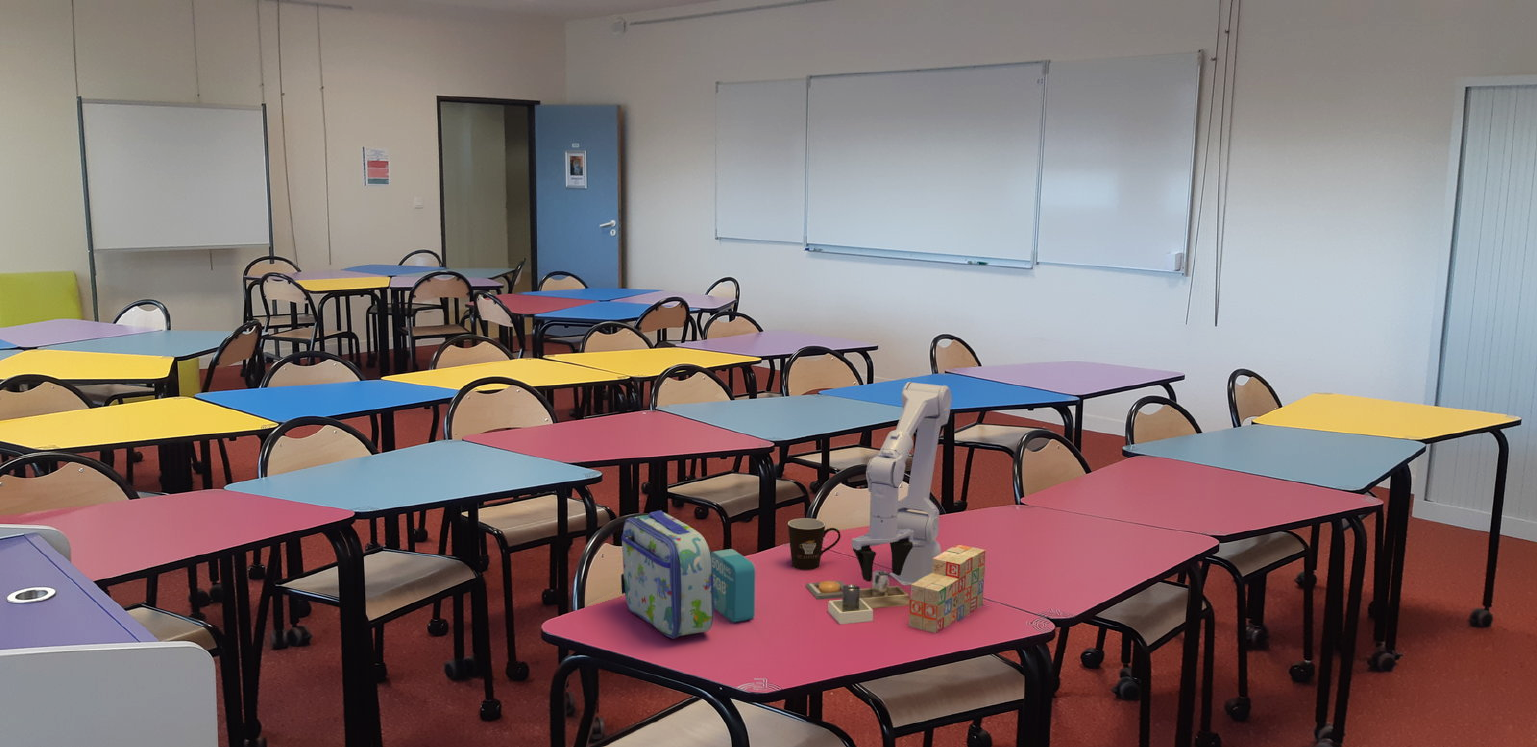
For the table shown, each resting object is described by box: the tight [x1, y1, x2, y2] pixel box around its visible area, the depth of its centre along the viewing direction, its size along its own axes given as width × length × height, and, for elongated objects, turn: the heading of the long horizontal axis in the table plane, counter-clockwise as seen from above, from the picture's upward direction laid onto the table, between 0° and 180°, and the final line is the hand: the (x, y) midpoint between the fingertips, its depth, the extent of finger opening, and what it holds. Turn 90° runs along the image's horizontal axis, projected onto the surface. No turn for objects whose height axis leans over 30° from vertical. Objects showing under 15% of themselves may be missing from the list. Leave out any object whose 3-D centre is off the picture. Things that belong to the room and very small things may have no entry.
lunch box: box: [620, 509, 715, 639], centre depth 217 cm, size 26×11×21 cm, turn 29°
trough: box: [859, 585, 910, 609], centre depth 229 cm, size 10×6×3 cm, turn 106°
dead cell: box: [841, 584, 861, 612], centre depth 221 cm, size 3×3×6 cm
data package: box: [710, 548, 756, 623], centre depth 222 cm, size 12×4×12 cm, turn 27°
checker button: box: [818, 580, 841, 593], centre depth 235 cm, size 4×4×2 cm
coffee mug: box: [787, 517, 841, 571], centre depth 252 cm, size 12×9×10 cm
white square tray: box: [827, 598, 874, 625], centre depth 221 cm, size 7×7×3 cm
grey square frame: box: [805, 580, 846, 600], centre depth 235 cm, size 8×8×2 cm
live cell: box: [871, 569, 890, 597], centre depth 229 cm, size 3×3×6 cm
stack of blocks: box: [908, 544, 986, 634], centre depth 223 cm, size 21×6×12 cm, turn 144°
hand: (881, 577), depth 229 cm, fingers open, 7 cm apart
